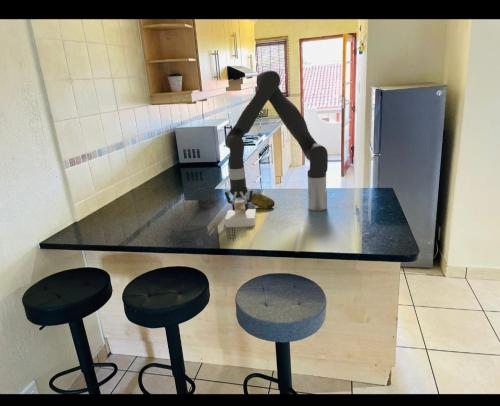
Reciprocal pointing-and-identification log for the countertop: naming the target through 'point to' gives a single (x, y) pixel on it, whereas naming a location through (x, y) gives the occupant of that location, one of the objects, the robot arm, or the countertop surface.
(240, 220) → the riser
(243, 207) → the birch block
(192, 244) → the countertop surface
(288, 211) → the countertop surface
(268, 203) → the potato
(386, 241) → the countertop surface
